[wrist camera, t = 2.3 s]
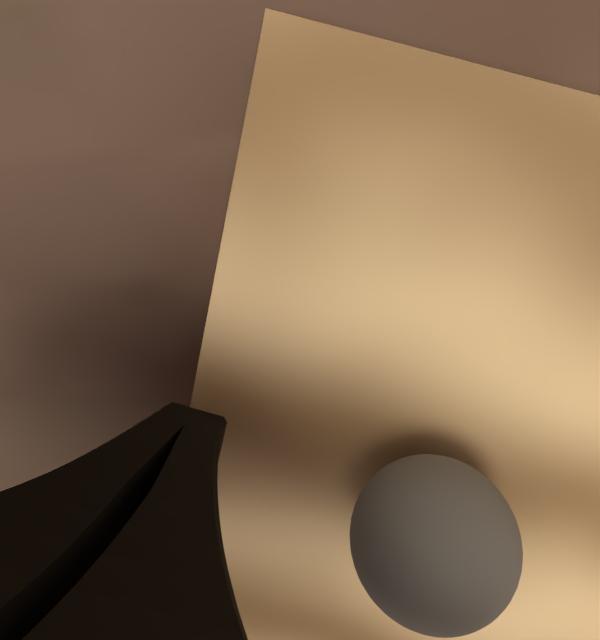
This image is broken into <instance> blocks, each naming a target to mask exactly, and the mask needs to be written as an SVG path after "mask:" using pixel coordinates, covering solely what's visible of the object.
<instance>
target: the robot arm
mask: <svg viewBox="0 0 600 640" xmlns="http://www.w3.org/2000/svg"><path fill="white" fill-rule="evenodd" d="M226 425H227V421H226V420H225V418H224V416H220V415H216V414H213V413H209V412H206V411H202V410H198V409H195V408H191V407H187V406H184V405H180V404H177V403H173V402H172V403H170V404H168V405H167V406H165V407H163V408H162V409H160V410H159V411H157V412H156V413H154V414H152V415H151V416H149V417H148V418H146V419H145V420H143V421H142V422H140V423H138V424H137V425H135V426H134V427H132V428H130V429H129V430H127V431H125V432H124V433H122V434H120V435H119V436H117V437H115V438H114V439H112V440H110V441H108V442H107V443H105V444H103V445H102V446H100V447H98V448H96V449H94V450H92V451H90V452H88V453H87V454H85V455H83V456H81V457H79V458H77V459H75V460H73V461H71V462H69V463H67V464H65V465H63V466H61V467H59V468H57V469H55V470H53V471H51V472H48V473H46V474H44V475H41V476H39V477H37V478H34V479H32V480H29V481H27V482H25V483H22V484H20V485H17V486H15V487H12V488H9V489H6V490H3V491H1V492H0V640H248V638H247V635H246V632H245V629H244V626H243V623H242V620H241V617H240V613H239V610H238V607H237V603H236V599H235V595H234V591H233V587H232V583H231V579H230V576H229V572H228V567H227V562H226V557H225V552H224V546H223V540H222V533H221V526H220V517H219V505H218V484H217V478H218V461H219V456H220V452H221V447H222V443H223V438H224V434H225V429H226Z"/></svg>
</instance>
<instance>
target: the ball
mask: <svg viewBox="0 0 600 640" xmlns="http://www.w3.org/2000/svg"><path fill="white" fill-rule="evenodd" d="M349 535H350V550H351V555H352V559H353V563H354V567H355V570H356V572H357V575H358V577H359V579H360V582H361V584H362V585H363V587H364V589H365V590H366V592H367V593H368V595H369V597H370V598H371V599H372V600H373V602H374V603H375V604H376V605H377V606H378V607H379V608H380V609H381V610H382V611H383V612H384V613H385V614H386V615H387V616H388V617H390V618H391V619H392V620H394V621H395V622H397V623H398V624H400V625H401V626H403V627H405V628H407V629H409V630H411V631H414V632H417V633H420V634H423V635H427V636H431V637H438V638H453V637H460V636H465V635H468V634H471V633H474V632H476V631H478V630H480V629H482V628H484V627H486V626H487V625H489V624H490V623H492V622H493V621H494V620H495V619H497V618H498V616H499V615H500V614H501V613H502V612H503V611H504V610H505V609H506V608H507V606H508V605H509V603H510V602H511V600H512V598H513V596H514V594H515V592H516V590H517V587H518V584H519V580H520V576H521V572H522V563H523V548H522V540H521V534H520V531H519V527H518V524H517V521H516V518H515V516H514V514H513V511H512V510H511V508H510V506H509V504H508V502H507V501H506V499H505V498H504V496H503V495H502V493H501V492H500V491H499V490H498V488H497V487H496V486H495V485H494V484H493V483H492V482H491V481H490V480H489V479H488V478H487V477H485V476H484V475H483V474H482V473H481V472H479V471H478V470H476V469H474V468H473V467H471V466H469V465H468V464H466V463H464V462H461V461H459V460H457V459H454V458H451V457H446V456H442V455H434V454H419V455H412V456H407V457H404V458H401V459H398V460H396V461H394V462H392V463H390V464H388V465H386V466H385V467H383V468H382V469H380V470H379V471H378V472H377V473H376V474H375V475H374V476H373V477H372V478H371V479H370V480H369V481H368V482H367V483H366V485H365V486H364V488H363V489H362V491H361V493H360V495H359V497H358V499H357V501H356V503H355V506H354V509H353V513H352V517H351V524H350V533H349Z"/></svg>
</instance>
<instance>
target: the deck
mask: <svg viewBox="0 0 600 640" xmlns="http://www.w3.org/2000/svg"><path fill="white" fill-rule="evenodd" d="M190 407H191V408H195V409H198V410H202V411H206V412H209V413H213V414H216V415H220V416H224V418H225V420H226V421H227V425H226V429H225V434H224V438H223V443H222V447H221V452H220V456H219V461H218V478H217V484H218V505H219V517H220V526H221V533H222V540H223V546H224V552H225V557H226V562H227V567H228V572H229V576H230V579H231V583H232V587H233V591H234V595H235V599H236V603H237V607H238V610H239V613H240V617H241V620H242V623H243V626H244V629H245V632H246V635H247V638H248V640H600V96H598V95H594V94H590V93H586V92H583V91H579V90H575V89H571V88H567V87H564V86H560V85H556V84H552V83H548V82H545V81H541V80H537V79H533V78H529V77H526V76H522V75H518V74H514V73H510V72H507V71H503V70H499V69H495V68H491V67H488V66H484V65H480V64H476V63H472V62H469V61H465V60H461V59H457V58H453V57H450V56H446V55H442V54H438V53H434V52H431V51H427V50H423V49H419V48H415V47H412V46H408V45H404V44H400V43H396V42H393V41H389V40H385V39H381V38H377V37H374V36H370V35H366V34H362V33H358V32H355V31H351V30H347V29H343V28H339V27H336V26H332V25H328V24H324V23H320V22H317V21H313V20H309V19H305V18H301V17H298V16H294V15H290V14H286V13H282V12H279V11H275V10H271V9H267V8H266V9H265V15H264V20H263V25H262V30H261V36H260V41H259V46H258V51H257V57H256V62H255V67H254V72H253V78H252V83H251V88H250V93H249V99H248V104H247V109H246V114H245V120H244V125H243V130H242V136H241V141H240V146H239V151H238V157H237V162H236V167H235V172H234V178H233V183H232V188H231V193H230V199H229V204H228V209H227V214H226V220H225V225H224V230H223V235H222V241H221V246H220V251H219V256H218V262H217V267H216V272H215V277H214V283H213V288H212V293H211V298H210V304H209V309H208V314H207V319H206V325H205V330H204V335H203V340H202V346H201V351H200V356H199V361H198V367H197V372H196V377H195V382H194V388H193V393H192V398H191V404H190ZM419 454H434V455H442V456H446V457H451V458H454V459H457V460H459V461H461V462H464V463H466V464H468V465H469V466H471V467H473V468H474V469H476V470H478V471H479V472H481V473H482V474H483V475H484V476H485V477H487V478H488V479H489V480H490V481H491V482H492V483H493V484H494V485H495V486H496V487H497V488H498V490H499V491H500V492H501V493H502V495H503V496H504V498H505V499H506V501H507V502H508V504H509V506H510V508H511V510H512V511H513V514H514V516H515V518H516V521H517V524H518V527H519V531H520V534H521V540H522V548H523V563H522V572H521V576H520V580H519V584H518V587H517V590H516V592H515V594H514V596H513V598H512V600H511V602H510V603H509V605H508V606H507V608H506V609H505V610H504V611H503V612H502V613H501V614H500V615H499V616H498V618H497V619H495V620H494V621H493V622H492V623H490V624H489V625H487V626H486V627H484V628H482V629H480V630H478V631H476V632H474V633H471V634H468V635H465V636H460V637H453V638H438V637H431V636H427V635H423V634H420V633H417V632H414V631H411V630H409V629H407V628H405V627H403V626H401V625H400V624H398V623H397V622H395V621H394V620H392V619H391V618H390V617H388V616H387V615H386V614H385V613H384V612H383V611H382V610H381V609H380V608H379V607H378V606H377V605H376V604H375V603H374V602H373V600H372V599H371V598H370V597H369V595H368V593H367V592H366V590H365V589H364V587H363V585H362V584H361V582H360V579H359V577H358V575H357V572H356V570H355V567H354V563H353V559H352V555H351V550H350V535H349V533H350V524H351V517H352V513H353V509H354V506H355V503H356V501H357V499H358V497H359V495H360V493H361V491H362V489H363V488H364V486H365V485H366V483H367V482H368V481H369V480H370V479H371V478H372V477H373V476H374V475H375V474H376V473H377V472H378V471H379V470H380V469H382V468H383V467H385V466H386V465H388V464H390V463H392V462H394V461H396V460H398V459H401V458H404V457H407V456H412V455H419Z"/></svg>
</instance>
